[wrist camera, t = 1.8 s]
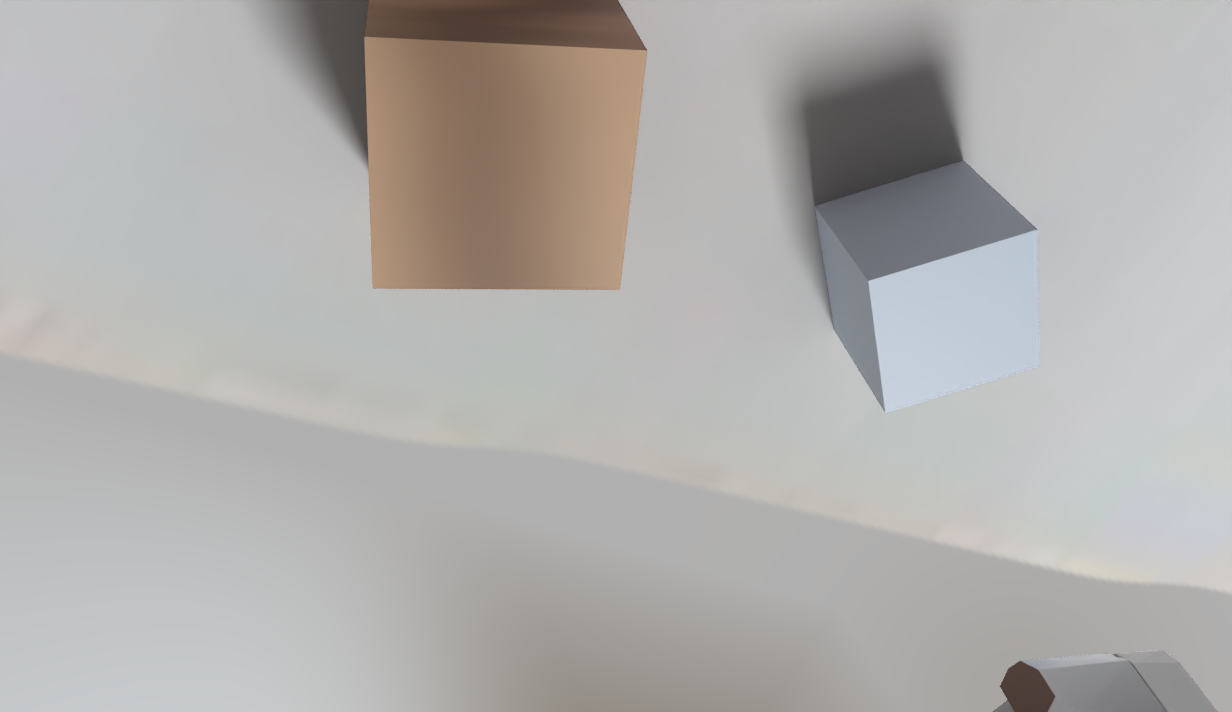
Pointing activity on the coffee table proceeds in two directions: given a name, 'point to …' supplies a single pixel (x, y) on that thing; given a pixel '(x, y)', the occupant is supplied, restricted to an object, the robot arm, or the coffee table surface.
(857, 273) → the slate block
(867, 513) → the coffee table surface
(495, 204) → the tan cube
